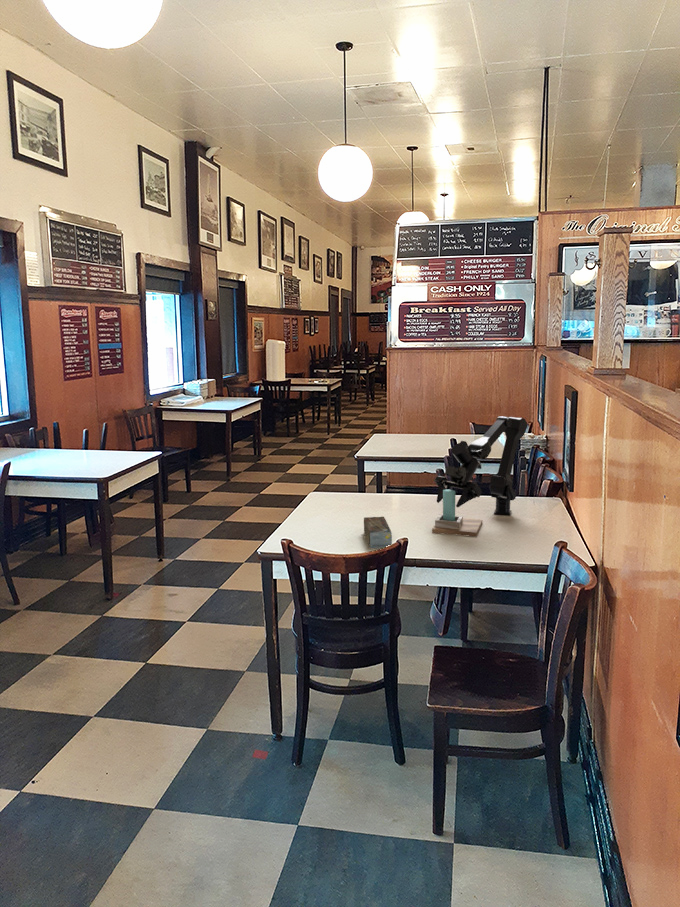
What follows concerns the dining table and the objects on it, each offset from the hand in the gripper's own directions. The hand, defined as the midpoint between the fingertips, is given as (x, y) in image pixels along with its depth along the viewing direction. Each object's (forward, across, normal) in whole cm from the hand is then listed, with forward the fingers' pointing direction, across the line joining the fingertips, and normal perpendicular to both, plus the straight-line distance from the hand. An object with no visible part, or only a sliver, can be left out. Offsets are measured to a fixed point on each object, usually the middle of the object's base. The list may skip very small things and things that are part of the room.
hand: (447, 504), depth 257 cm
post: (+5, 0, +7) cm, 8 cm away
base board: (+4, +2, +10) cm, 11 cm away
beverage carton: (+27, -8, -13) cm, 31 cm away
